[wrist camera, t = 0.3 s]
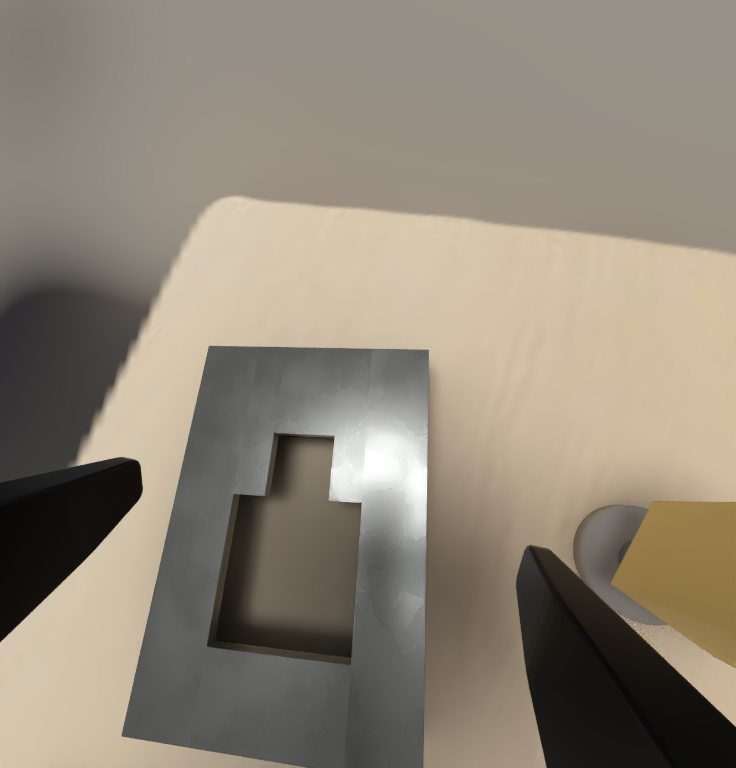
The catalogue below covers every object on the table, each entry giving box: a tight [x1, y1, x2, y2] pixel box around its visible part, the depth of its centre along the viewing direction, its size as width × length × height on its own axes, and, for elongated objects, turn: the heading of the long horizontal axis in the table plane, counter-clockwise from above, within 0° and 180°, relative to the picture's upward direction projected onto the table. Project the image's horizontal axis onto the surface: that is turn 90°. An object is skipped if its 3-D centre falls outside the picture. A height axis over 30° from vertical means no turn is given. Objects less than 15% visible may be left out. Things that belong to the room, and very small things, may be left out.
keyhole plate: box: [122, 346, 429, 768], centre depth 20 cm, size 20×14×3 cm
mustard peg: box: [574, 501, 736, 668], centre depth 13 cm, size 6×6×13 cm
